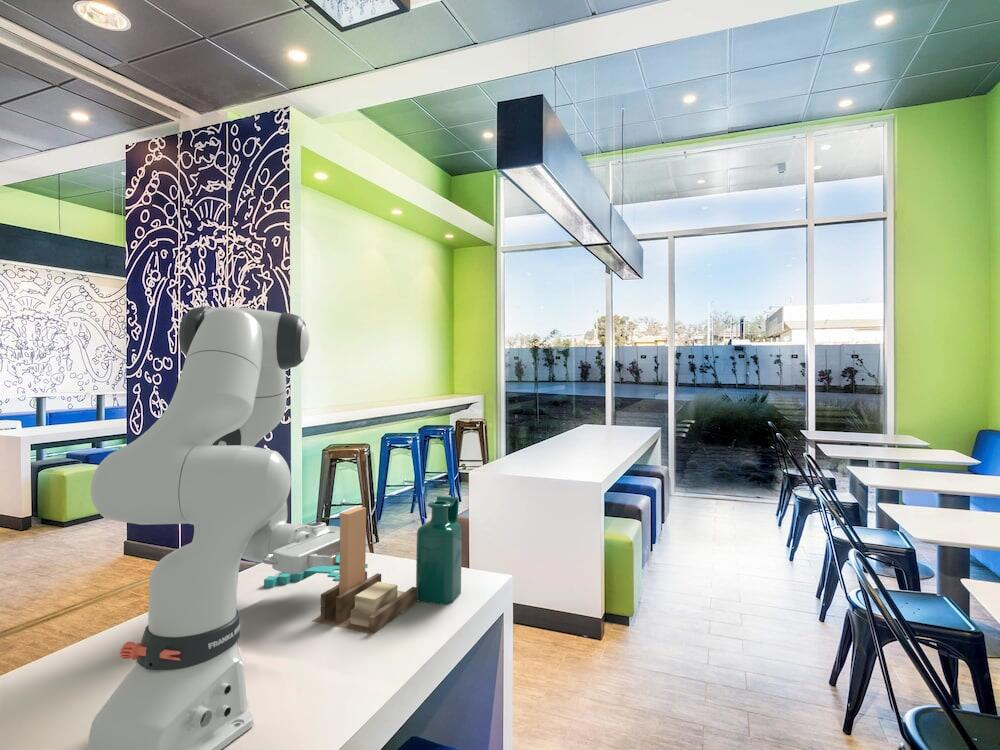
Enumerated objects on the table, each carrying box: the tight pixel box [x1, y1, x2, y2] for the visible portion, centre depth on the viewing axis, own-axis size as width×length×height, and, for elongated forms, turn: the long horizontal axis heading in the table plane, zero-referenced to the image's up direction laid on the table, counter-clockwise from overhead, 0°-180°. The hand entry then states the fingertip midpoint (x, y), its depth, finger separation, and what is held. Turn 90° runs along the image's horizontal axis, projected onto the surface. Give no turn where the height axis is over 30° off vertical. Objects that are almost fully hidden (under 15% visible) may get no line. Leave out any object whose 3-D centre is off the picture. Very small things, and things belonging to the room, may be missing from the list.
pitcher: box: [415, 495, 463, 606], centre depth 122 cm, size 10×8×22 cm
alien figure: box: [263, 554, 369, 588], centre depth 138 cm, size 20×2×20 cm
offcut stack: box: [351, 581, 405, 627], centre depth 112 cm, size 12×5×5 cm, turn 159°
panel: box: [338, 506, 367, 595], centre depth 114 cm, size 6×2×20 cm, turn 159°
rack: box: [312, 570, 418, 635], centre depth 113 cm, size 16×14×6 cm
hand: (348, 554), depth 114 cm, fingers open, 8 cm apart
